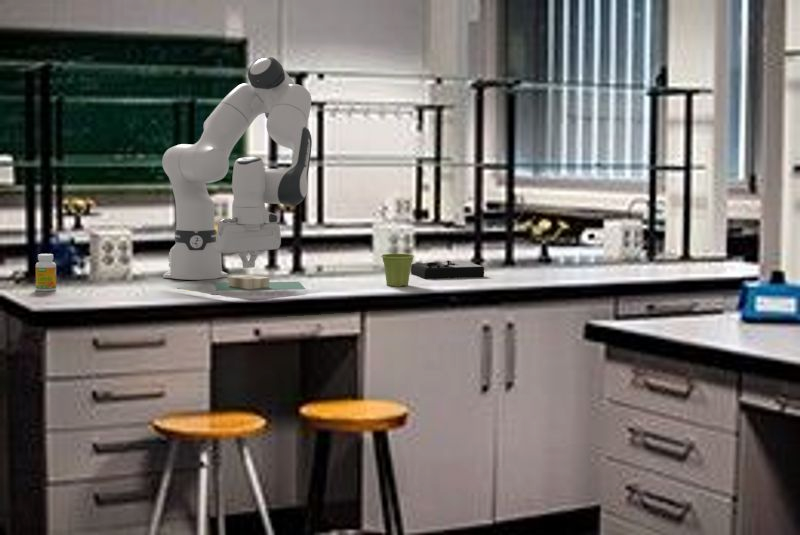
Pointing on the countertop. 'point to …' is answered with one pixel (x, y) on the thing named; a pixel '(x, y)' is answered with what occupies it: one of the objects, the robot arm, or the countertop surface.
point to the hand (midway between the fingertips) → (248, 267)
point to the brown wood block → (248, 282)
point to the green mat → (271, 287)
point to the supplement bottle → (45, 273)
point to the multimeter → (447, 270)
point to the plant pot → (397, 268)
